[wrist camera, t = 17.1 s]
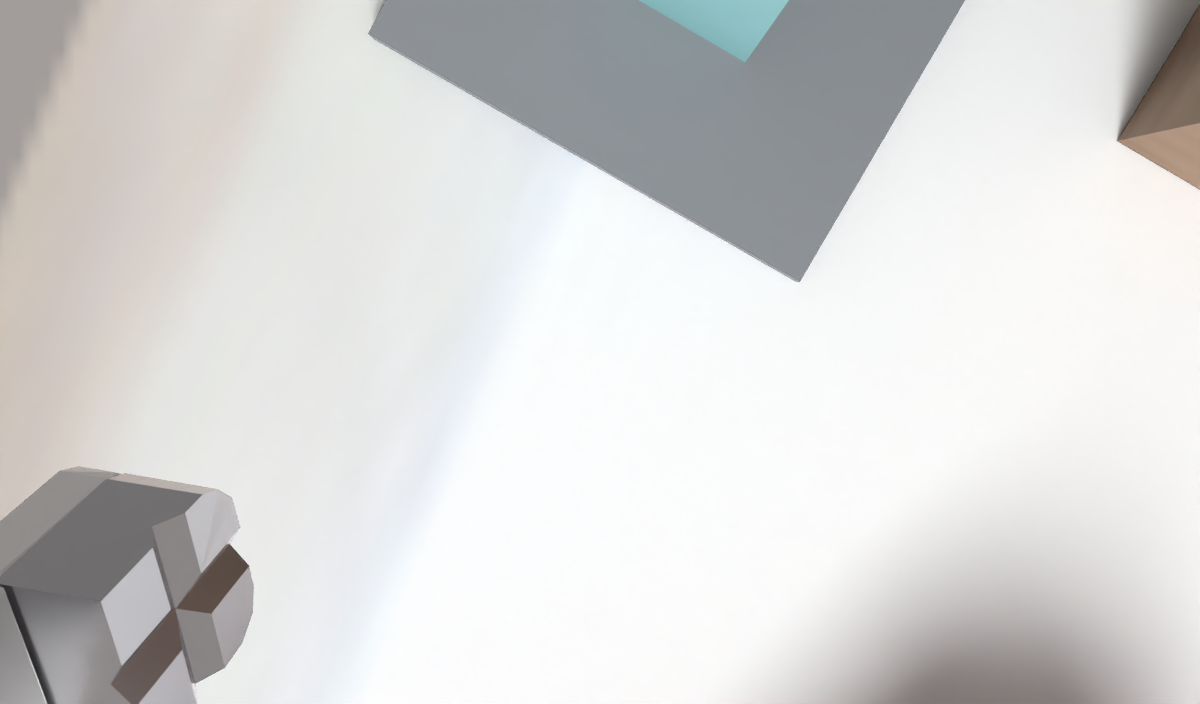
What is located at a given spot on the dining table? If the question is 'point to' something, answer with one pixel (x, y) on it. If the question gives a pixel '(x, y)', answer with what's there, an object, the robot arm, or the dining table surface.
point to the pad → (693, 99)
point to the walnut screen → (1172, 111)
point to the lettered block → (724, 20)
